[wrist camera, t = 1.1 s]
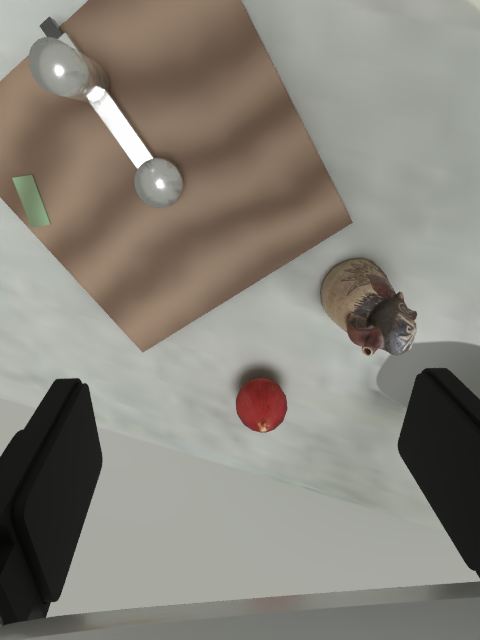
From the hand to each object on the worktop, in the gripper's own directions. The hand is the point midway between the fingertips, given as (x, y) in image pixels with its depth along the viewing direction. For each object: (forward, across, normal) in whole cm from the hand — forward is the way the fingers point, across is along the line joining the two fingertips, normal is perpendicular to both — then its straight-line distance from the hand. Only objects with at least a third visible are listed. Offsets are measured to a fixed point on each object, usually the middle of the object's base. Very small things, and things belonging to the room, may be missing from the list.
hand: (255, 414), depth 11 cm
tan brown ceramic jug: (+28, -14, +8) cm, 33 cm away
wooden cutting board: (+29, +5, -4) cm, 30 cm away
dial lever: (+27, +9, -8) cm, 30 cm away
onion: (+29, -4, +20) cm, 35 cm away
